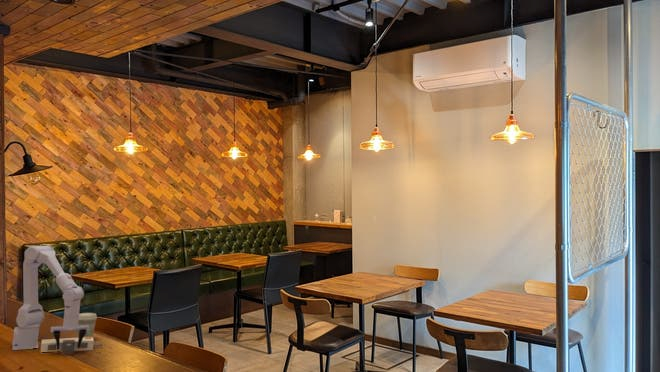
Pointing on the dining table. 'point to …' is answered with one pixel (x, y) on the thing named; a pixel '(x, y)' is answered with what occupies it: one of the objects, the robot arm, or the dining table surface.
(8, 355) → the dining table surface
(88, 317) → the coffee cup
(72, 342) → the charger
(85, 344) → the power strip
